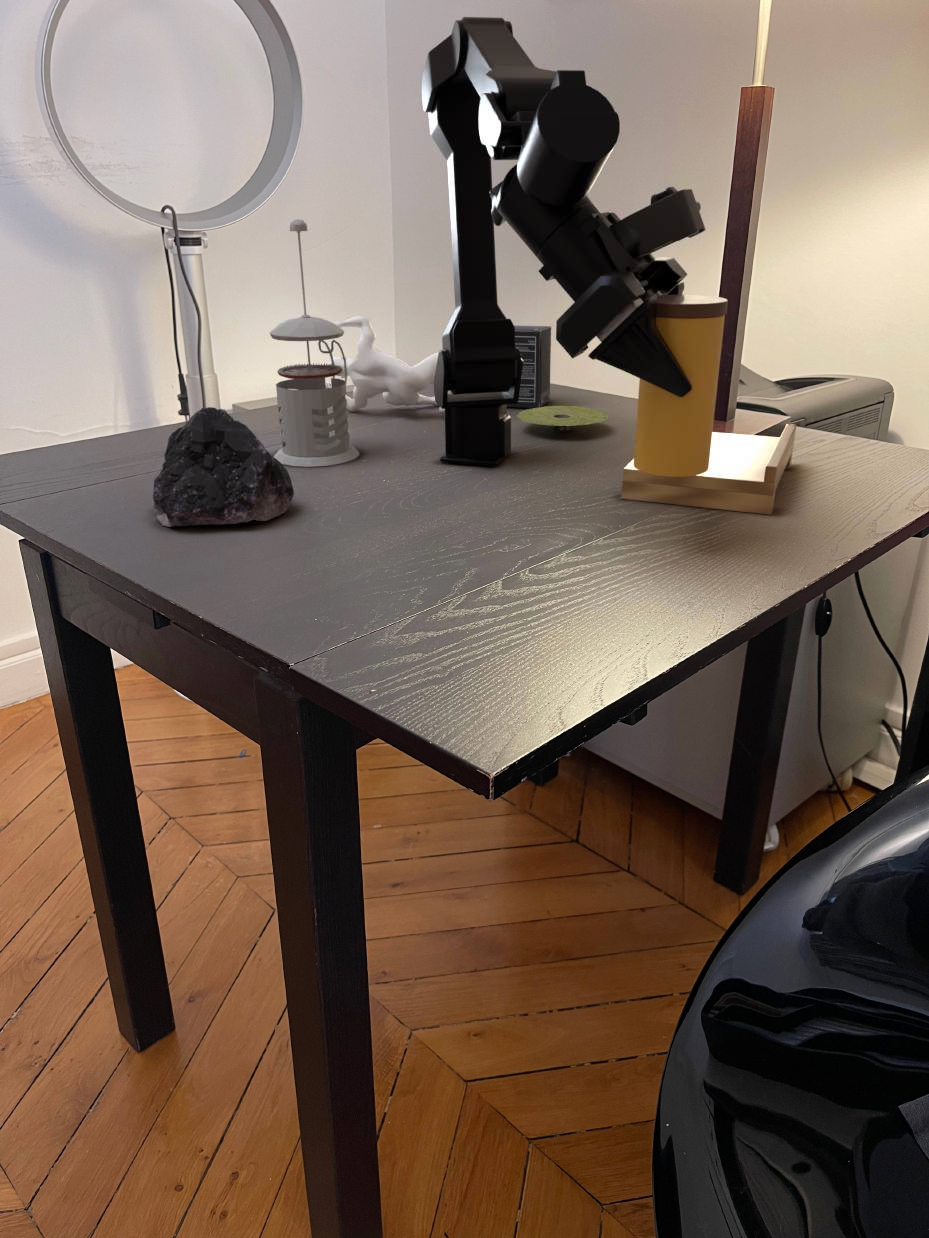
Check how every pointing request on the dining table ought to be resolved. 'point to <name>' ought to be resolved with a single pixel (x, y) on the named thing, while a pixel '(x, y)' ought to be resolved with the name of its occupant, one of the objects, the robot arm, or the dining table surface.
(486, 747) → the dining table surface
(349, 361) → the white curved figure
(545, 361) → the small box
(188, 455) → the crystal cluster
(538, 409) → the green disc
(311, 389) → the french press
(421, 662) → the dining table surface
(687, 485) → the oak shelf
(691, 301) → the tea tin
